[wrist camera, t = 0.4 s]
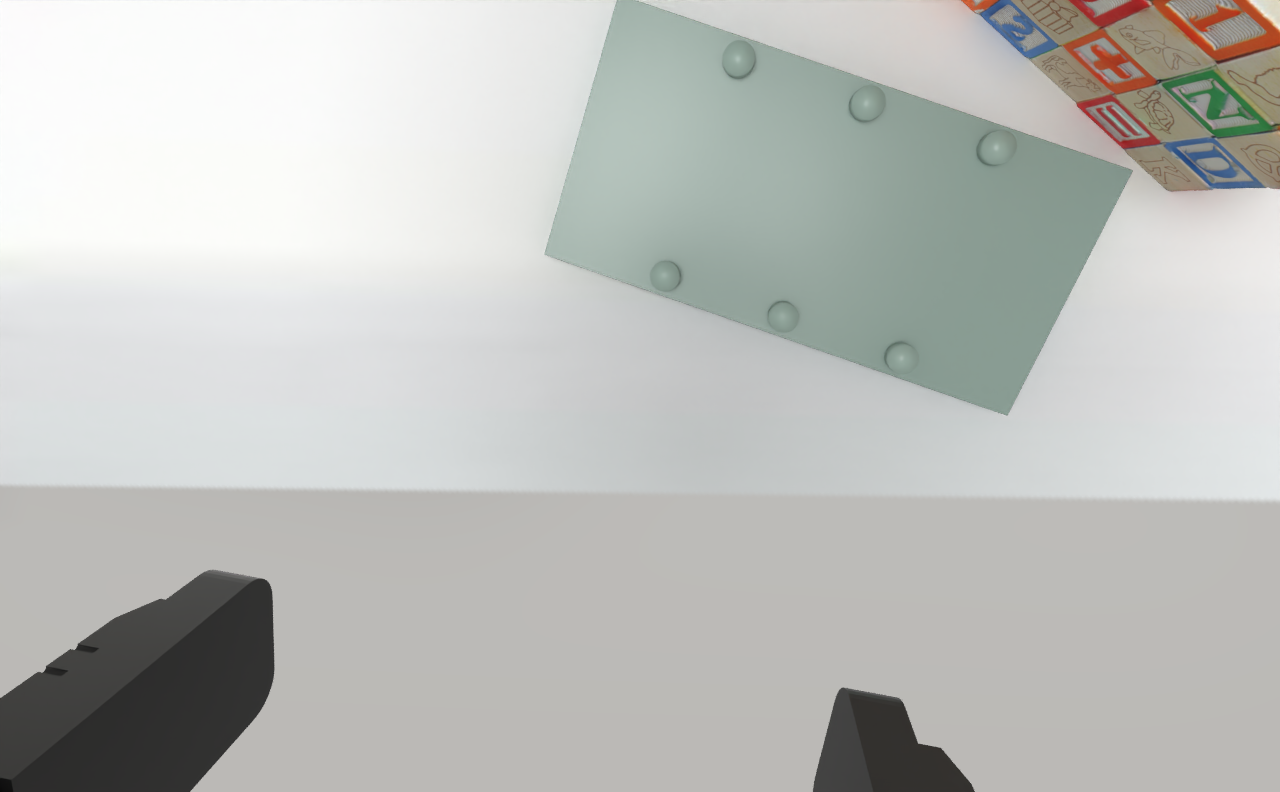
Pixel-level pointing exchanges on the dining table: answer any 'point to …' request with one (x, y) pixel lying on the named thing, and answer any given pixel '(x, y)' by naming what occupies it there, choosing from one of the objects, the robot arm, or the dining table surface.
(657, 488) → the dining table surface
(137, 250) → the dining table surface
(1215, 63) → the stack of blocks
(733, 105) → the baseplate
